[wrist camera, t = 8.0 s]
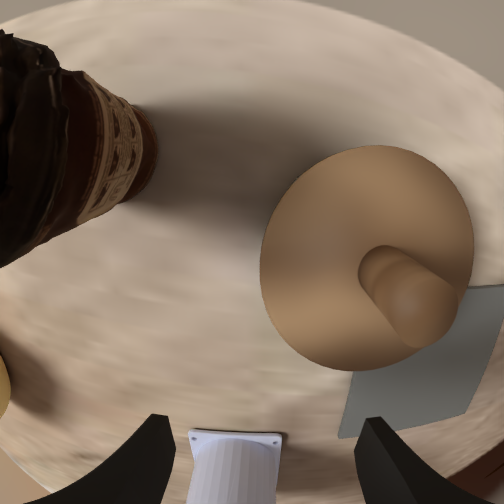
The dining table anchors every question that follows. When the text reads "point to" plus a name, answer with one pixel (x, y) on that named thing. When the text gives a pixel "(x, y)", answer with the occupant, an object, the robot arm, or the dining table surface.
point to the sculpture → (4, 388)
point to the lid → (366, 258)
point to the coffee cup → (62, 148)
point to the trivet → (431, 371)
